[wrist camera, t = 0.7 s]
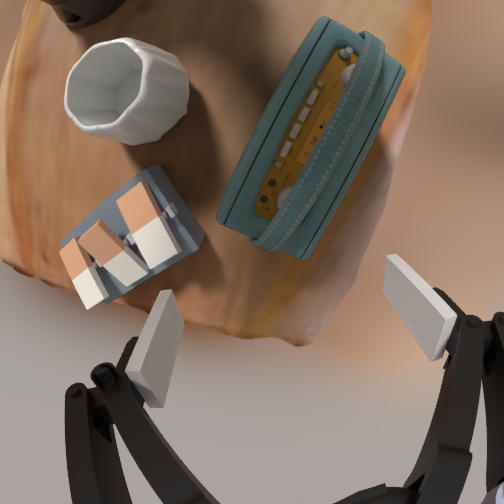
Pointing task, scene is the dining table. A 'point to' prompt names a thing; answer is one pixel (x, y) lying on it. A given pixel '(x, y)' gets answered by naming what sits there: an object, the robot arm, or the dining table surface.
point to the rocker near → (148, 225)
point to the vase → (127, 91)
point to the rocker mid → (113, 253)
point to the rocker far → (83, 273)
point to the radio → (311, 139)
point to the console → (109, 212)
